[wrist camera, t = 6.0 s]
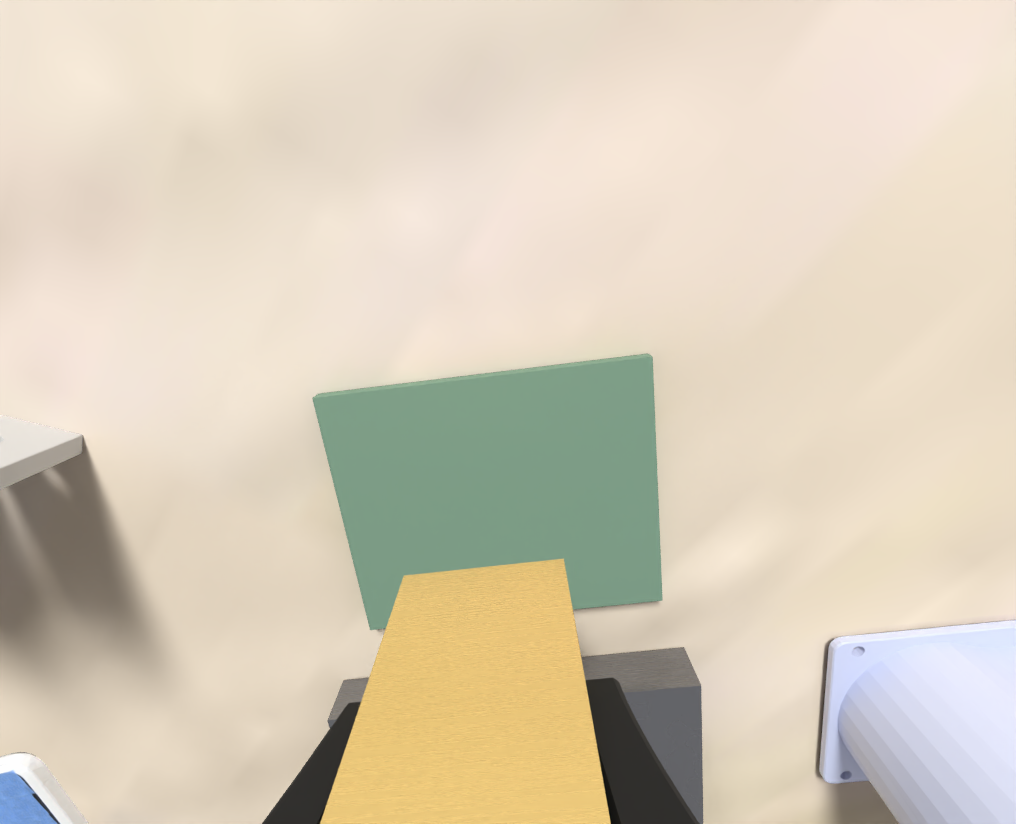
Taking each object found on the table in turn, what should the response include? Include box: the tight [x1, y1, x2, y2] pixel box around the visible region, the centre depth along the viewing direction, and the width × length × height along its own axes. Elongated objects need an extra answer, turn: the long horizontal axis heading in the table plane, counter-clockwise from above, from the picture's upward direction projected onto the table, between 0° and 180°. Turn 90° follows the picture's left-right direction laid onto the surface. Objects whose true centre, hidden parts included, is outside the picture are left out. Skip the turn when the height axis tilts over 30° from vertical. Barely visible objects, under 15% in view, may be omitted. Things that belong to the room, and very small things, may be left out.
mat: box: [313, 354, 662, 630], centre depth 19 cm, size 12×10×1 cm
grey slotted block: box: [328, 647, 703, 824], centre depth 22 cm, size 15×8×2 cm, turn 97°
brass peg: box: [320, 559, 611, 824], centre depth 9 cm, size 4×4×8 cm
